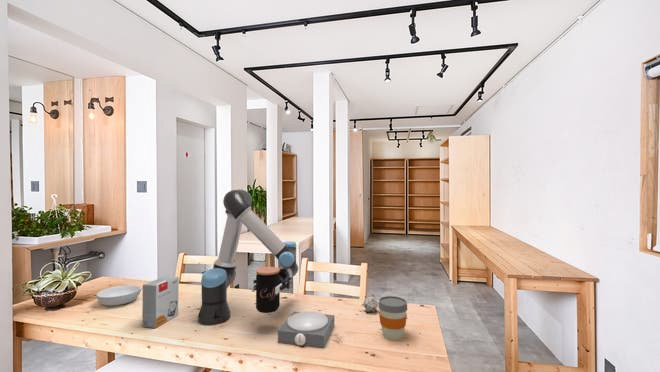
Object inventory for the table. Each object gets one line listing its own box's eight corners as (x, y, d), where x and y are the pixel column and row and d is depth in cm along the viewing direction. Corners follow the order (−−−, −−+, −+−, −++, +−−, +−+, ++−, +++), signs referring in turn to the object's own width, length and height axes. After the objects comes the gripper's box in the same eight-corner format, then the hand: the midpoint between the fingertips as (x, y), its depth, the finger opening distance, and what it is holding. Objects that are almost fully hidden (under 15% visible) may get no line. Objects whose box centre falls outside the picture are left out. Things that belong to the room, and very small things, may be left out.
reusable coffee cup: (393, 325, 145) (393, 294, 144) (413, 337, 134) (413, 302, 134) (372, 333, 138) (372, 299, 138) (392, 345, 127) (392, 309, 127)
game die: (373, 319, 160) (379, 309, 154) (358, 312, 161) (363, 301, 155) (377, 305, 167) (382, 295, 161) (362, 299, 168) (367, 288, 162)
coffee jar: (258, 315, 135) (258, 274, 134) (254, 306, 144) (254, 268, 144) (282, 311, 139) (282, 271, 139) (276, 302, 149) (276, 265, 148)
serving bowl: (146, 301, 176) (146, 289, 176) (102, 313, 160) (101, 300, 160) (134, 293, 190) (134, 282, 190) (92, 303, 174) (92, 291, 174)
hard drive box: (155, 329, 143) (154, 286, 142) (141, 327, 144) (141, 284, 144) (179, 315, 158) (178, 276, 158) (166, 313, 160) (166, 275, 159)
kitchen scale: (277, 343, 129) (276, 328, 129) (294, 321, 149) (294, 309, 149) (323, 349, 124) (323, 333, 124) (334, 325, 145) (334, 312, 145)
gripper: (304, 284, 156) (288, 300, 135) (261, 281, 162) (240, 296, 140) (304, 270, 156) (288, 283, 135) (261, 267, 162) (240, 279, 140)
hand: (264, 290), depth 138 cm, fingers closed on coffee jar, 11 cm apart
